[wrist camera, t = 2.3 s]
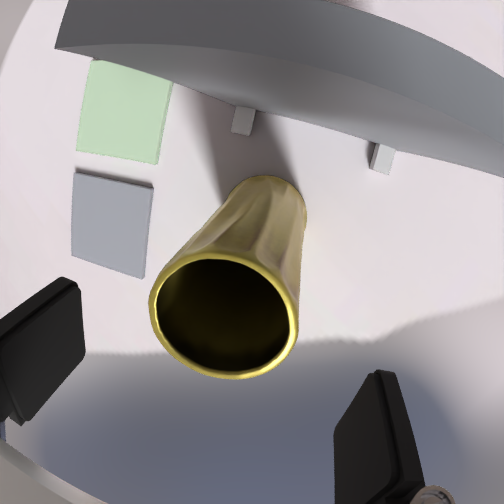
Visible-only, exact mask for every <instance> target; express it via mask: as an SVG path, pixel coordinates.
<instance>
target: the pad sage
mask: <svg viewBox="0 0 504 504" xmlns="http://www.w3.org/2000/svg"><path fill="white" fill-rule="evenodd" d="M172 86H173V82H171V81H169V80H166V79H163V78H160V77H157V76H154V75H151V74H148V73H145V72H142V71H138V70H135V69H132V68H129V67H125V66H122V65H118V64H115V63H111V62H108V61H104V60H99V61H91V64H90V68H89V73H88V77H87V82H86V87H85V92H84V98H83V103H82V109H81V115H80V122H79V129H78V137H77V145H76V151H80V152H86V153H93V154H99V155H105V156H110V157H116V158H122V159H127V160H133V161H138V162H143V163H149V164H154V165H156V164H158V158H159V152H160V146H161V140H162V135H163V130H164V124H165V119H166V114H167V109H168V104H169V100H170V95H171V91H172Z"/></svg>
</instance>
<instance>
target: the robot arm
mask: <svg viewBox="0 0 504 504" xmlns="http://www.w3.org/2000/svg"><path fill="white" fill-rule="evenodd" d="M85 352H86V349H85V340H84V329H83V317H82V302H81V290H80V289H79V288H78V285H77V283H76V282H75V281H72V280H70V279H67V278H65V277H59V278H58V279H56V280H55V281H53V282H52V283H50V284H49V285H47V286H46V287H44V288H43V289H42V290H40V291H39V292H37V293H36V294H34V295H33V296H32V297H30V298H29V299H27V300H26V301H25V302H23V303H22V304H20V305H19V306H18V307H16V308H15V309H14V310H12V311H11V312H10V313H8V314H7V315H6V316H4V317H3V318H2V319H0V504H107V503H105V502H103V501H101V500H99V499H97V498H95V497H93V496H91V495H89V494H87V493H85V492H83V491H81V490H79V489H77V488H76V487H74V486H72V485H70V484H68V483H67V482H65V481H63V480H61V479H60V478H58V477H56V476H55V475H53V474H51V473H50V472H48V471H47V470H45V469H43V468H42V467H40V466H39V465H37V464H36V463H34V462H33V461H31V460H30V459H28V458H27V457H25V456H24V455H23V454H21V453H20V452H18V451H17V450H16V449H14V448H13V447H12V446H10V445H9V444H8V443H6V430H5V420H6V418H7V417H8V416H9V417H10V419H12V420H13V421H15V422H16V423H17V424H19V425H20V426H22V425H23V424H24V422H25V421H30V420H31V419H32V418H33V417H34V416H35V414H36V413H37V412H38V411H39V409H40V408H41V407H42V406H43V405H44V404H45V402H46V401H47V400H48V399H49V398H50V397H51V395H52V394H53V393H54V392H55V391H56V390H57V388H58V387H59V386H60V385H61V384H62V383H63V381H64V380H65V379H66V378H67V377H68V375H70V373H71V372H72V371H73V370H74V369H75V368H76V366H77V365H78V364H79V363H80V362H81V361H82V360H83V358H84V356H85ZM334 468H335V469H334V471H335V472H334V474H335V504H455V501H454V498H453V497H452V495H451V494H450V493H449V492H448V491H447V490H446V489H445V488H442V487H440V486H436V485H430V486H425V482H424V477H423V472H422V468H421V463H420V459H419V455H418V451H417V447H416V443H415V439H414V435H413V431H412V428H411V424H410V420H409V417H408V414H407V410H406V407H405V403H404V400H403V397H402V393H401V390H400V386H399V383H398V380H397V377H396V375H395V373H394V372H390V371H384V370H376V371H375V372H374V373H370V374H368V376H367V378H366V379H365V381H364V383H363V384H362V386H361V388H360V389H359V391H358V393H357V394H356V396H355V398H354V399H353V401H352V402H351V404H350V406H349V407H348V409H347V410H346V412H345V413H344V415H343V416H342V418H341V419H340V421H339V423H338V424H337V426H336V427H335V431H334Z"/></svg>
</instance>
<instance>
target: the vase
mask: <svg viewBox="0 0 504 504" xmlns="http://www.w3.org/2000/svg"><path fill="white" fill-rule="evenodd" d="M306 222H307V212H306V207H305V203H304V201H303V199H302V197H301V195H300V194H299V192H298V191H297V190H296V189H295V188H294V187H293V186H292V185H291V184H290V183H288V182H286V181H285V180H283V179H280V178H278V177H274V176H268V175H260V176H255V177H251V178H248V179H246V180H244V181H242V182H241V183H240V184H239V185H237V186H236V187H235V188H234V189H233V190H232V191H231V193H230V194H229V196H228V198H227V200H226V202H225V203H224V204H223V205H222V206H220V207H219V208H218V209H217V210H216V212H215V213H214V214H213V215H212V216H211V217H210V218H209V220H208V221H207V222H206V223H205V224H204V226H203V227H202V228H201V229H200V230H199V231H198V232H196V233H195V234H194V235H193V236H192V237H191V239H190V240H189V241H188V242H187V243H186V244H185V245H184V246H183V247H182V248H181V249H180V250H179V251H178V252H177V253H176V254H175V256H174V257H173V258H172V259H171V260H170V261H169V262H168V263H167V264H166V265H165V267H164V268H163V269H162V271H161V272H160V273H159V275H158V277H157V279H156V281H155V283H154V285H153V287H152V289H151V292H150V295H149V301H148V306H149V314H150V320H151V325H152V328H153V331H154V333H155V335H156V337H157V338H158V340H159V341H160V343H161V344H162V345H163V347H164V348H165V349H166V350H167V351H168V352H169V353H170V354H171V355H172V356H173V357H174V358H175V359H177V360H178V361H179V362H181V363H182V364H184V365H186V366H187V367H189V368H191V369H192V370H195V371H197V372H199V373H201V374H204V375H208V376H212V377H216V378H224V379H245V378H251V377H255V376H258V375H261V374H264V373H266V372H268V371H270V370H272V369H273V368H275V367H276V366H278V365H279V364H280V363H281V362H282V361H283V360H285V358H286V357H287V356H288V355H289V353H290V352H291V350H292V349H293V347H294V345H295V343H296V340H297V338H298V331H299V293H300V273H301V258H302V244H303V238H304V230H305V227H306Z"/></svg>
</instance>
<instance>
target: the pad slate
mask: <svg viewBox="0 0 504 504" xmlns="http://www.w3.org/2000/svg"><path fill="white" fill-rule="evenodd" d="M153 191H154V189H153V188H149V187H144V186H140V185H135V184H131V183H126V182H121V181H117V180H112V179H107V178H103V177H98V176H93V175H88V174H83V173H78V172H76V173H74V177H73V192H72V219H71V251H72V256H74V257H77V258H80V259H83V260H86V261H88V262H91V263H94V264H97V265H100V266H103V267H106V268H109V269H112V270H115V271H118V272H121V273H124V274H127V275H130V276H133V277H136V278H139V279H143V278H144V277H145V264H146V252H147V242H148V232H149V223H150V214H151V206H152V198H153Z"/></svg>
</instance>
